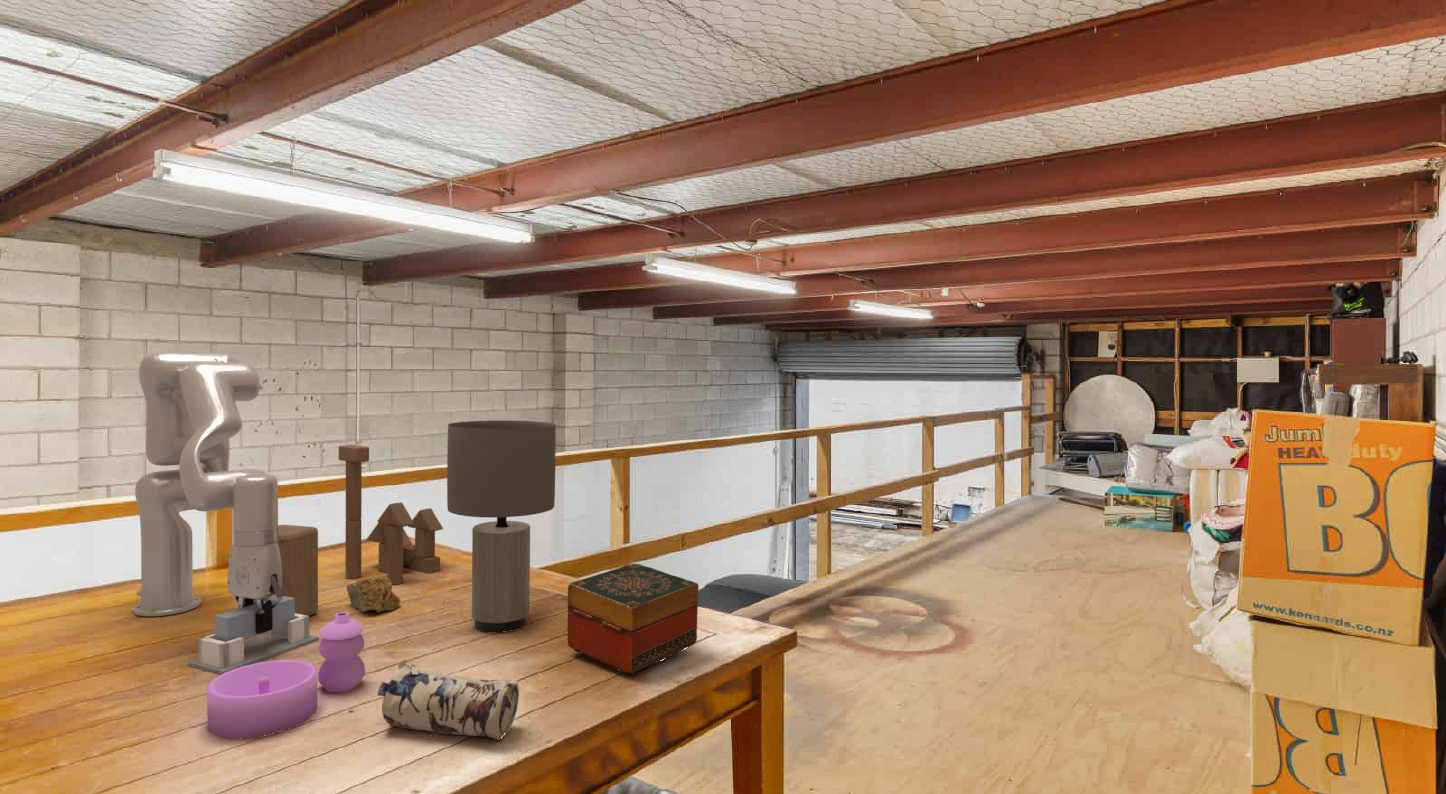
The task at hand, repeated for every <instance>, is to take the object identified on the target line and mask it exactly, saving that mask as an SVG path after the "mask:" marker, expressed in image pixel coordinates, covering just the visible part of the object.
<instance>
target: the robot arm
mask: <svg viewBox="0 0 1446 794" xmlns="http://www.w3.org/2000/svg"><path fill="white" fill-rule="evenodd" d="M138 380H139V383H140V386H141V390H142V393H143V396H144V398H145V403H146V422H145V423H146V425H145V455H146V459H147V460H148V462H149V463H150V464H152V465H154V466H161V467H164V466H165V467H166V466H168V467H169V466H179V467H178V469H168V470H161V471H155V472H150V473H147V474H145V475H143V476H141V478H139V479H138V480H137V482H136V484H135V488H134V495H135V500H136V504H137V509H138V513H139V514H138V515H139V524H140V552H141V554H140V568H141V570H140V572H141V573H140V575H141V578H140V579H141V582H140V583H141V589H139V590H137V591H136V593H135V594H136V596H138V597H140V602H138V603H137V604H135V605H134V606H132V607H133V608H132V613H133V614H134V615H136V616H140V617H163V616H170V615H175V614H180V613H184V612H189V611H191V610H194V609H196V608H198V607H199V606H200V605H201V604H202V598H201V597H199V596H196V595H193V593H194V590H193V588H194V586H193V583H194V582H193V581H194V579H193V578H194V577H193V575H194V574H193V572H194V571H193V564H194V563H193V561H194V560H193V554H194V553H193V530H192V527H191V525H190V523H188V521H186V520H185V519H184V518H183V517H182V516H181V514H180V513H181V512H185V511H192V510H196V511H198V512H213V511H214V512H215V511H220V510H228V509H232V519H233V520H232V524H233V525H232V530H233V531H232V533H233V537H232V541H233V544H232V545H231V547H230V552H229V555H228V557H229V558H228V564H227V565H228V566H227V578H226V579H227V585H226V587H227V589H226V590H227V592H228V593H229V594H230V595H231V596H234V598H235V600H236V601H237V609H240V608H243V607H247V606H250V605H254V604H255V601H256V600H257V609H258V613H257V614H255V623H256V634H259V635H262V634H264V632H265V633H268V632H267V631H270V630H272V628H273V610H274V609H275V606H276V604H277V603H279V602H280V601H282V600H283V596H282V593H281V590H282V566H281V557H280V550H279V546H278V526H279V483H278V479H277V477H276V476H275V475H273V474H269V473H265V472H264V471H263V470H260V469H258V468H248V469H247V468H245V469H237V470H236V469H235V470H234V469H233V470H229V468H230V467H229V466H230V439H231V438H233V437H235V436H236V435H237V434H238V433H239V432H240V431H241V429H242V427H243V420H242V418H241V416H240V412H239V409H238V407H237V403H236V402H249V401H253V400H254V399H256V398H257V396H258V395H259V393H260V388H261V381H260V378H259V375H258V373H257V371H256V369H255V368H254V367H253V366H252V365H251V364H250V363H248V362H247V361H245V360H243V359H241V358H239V357H237V356H235V355H233V354H230V353H225V352H201V351H200V352H194V351H160V352H159V351H158V352H152V353H149V354H147V355H146V356H144V357H143V358H142V359H141V361H140V364H139V367H138ZM267 594H268V595H267ZM265 599H267V600H268V601H266V602H265V603H264V602H263V600H265ZM261 633H262V634H261Z"/></svg>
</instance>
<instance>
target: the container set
mask: <svg viewBox="0 0 1446 794" xmlns="http://www.w3.org/2000/svg"><path fill="white" fill-rule="evenodd" d="M349 615H350V612H349V611H342V612H341V611H340V612H337V613H335V614H334V618H335V619H334V620H331V621H330V622H328V623H326V624H325V625H324V626H323V627H322V628H321V630H320V636H321V638H322V639H321V640H320V642H319V645H318V652H319V654H320V655H321V657H322V658H323V659H325V660H324V662H323V663H322V664H321V665H320V666H319V667H320V668H319V669H318V668H317V666H316V665H314V663H311V662H308V661H304V660H298V659H297V660H295V659H279V660H269V661H268V660H267V661H263V662H262V661H260V662H257V663H254V664H251V665H247V666H243V667H240V668H236V669H233V670H231V671H228V672H226V673H224V674H219V675H218V676H216V677H215V678H213V679H212V680H211V681H210V682H209V683H208V684H207V687H206V693H207V694H206V697H207V699H206V700H207V701H206V703H207V704H206V705H207V707H206V708H207V709H206V711H207V713H206V714H207V715H206V716H207V718H206V719H207V721H206V722H207V731H208V732H209V733H210V734H211V735H212V736H215V737H218V738H222V739H228V738H229V739H230V740H245V739H254V738H256V739H257V738H260V737H259V736H262V737H265V736H264V735H267V736H270V735H269V734H271V735H273V734H272V733H275V734H278V733H277V732H279V731H282V730H285V731H287V730H286V729H288V728H290V729H292V728H291V727H293V726H295V727H297V726H296V725H298V724H299V725H301V724H303V723H305V722H306V721H308V720H310V719H311V718H312V717H313V716H314V715H315V714H316V712H317V711H316V710H318V682H319V684H320V685H321V687H323V689H325V690H326V692H329V693H344V692H349V691H351V690H353V689H355V688H356V687H357V686H358V685H359V684H360V683H361V681H363V678H365V677H364V676H365V673H366V667H365V666H366V665H365V663H364V661H363V659H362V658H361V657H360V656H359V655H360V654H361V653H362V651H363V650H364V646H365V645H366V644H365V638H364V636H363V635H362V632H363V629H364V626H363V623H362V622H360V621H358V620H356V619H354V618H349V617H350V616H349ZM313 714H314V715H313ZM312 715H313V716H312ZM311 716H312V717H311ZM310 717H311V718H310ZM300 723H301V724H300ZM299 725H298V726H299ZM293 728H294V727H293ZM288 730H289V729H288ZM282 732H283V731H282ZM279 733H280V732H279ZM240 738H241V739H240ZM229 739H228V740H229Z"/></svg>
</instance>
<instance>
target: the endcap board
mask: <svg viewBox="0 0 1446 794" xmlns="http://www.w3.org/2000/svg"><path fill="white" fill-rule="evenodd" d="M319 640H320V636H317V635H311V634H310V616H306V615H301V614H296V613H295V619H294V620H291V621H288V625H286V626H283V627H280V628H277V629H274V630H271V631H268V632H267V635H264V636H261V637H259V638H258V637H257V638H255V639H252V640H249V641H247V642H245V639H244V638H242V637H239V638H236V639H233V640H230V641H227V642H224V641H220V640H216V639H215V633H213V634H210V635H206V636H202V637H199V638H197V656H198V657H197V658H195V659H193V660H190V661H188V662H187V666H188V667H192V668H196V669H200V670H203V671H208V672H210V673H214V674H218V675H222V674H224V673H226V672H228V671H231V670H233V669H236V668H240V667H243V666H247V665H251V664H255V663H261V662H262V661H265V660H267V659H271V658H274V657H275V656H279V655H282V654H284V653H286V652H290V651H292V650H294V649H295V650H296V649H298V648H300V647H304V646H306V645H308V644H311V643H314V642H317V641H319Z"/></svg>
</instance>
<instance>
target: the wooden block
mask: <svg viewBox="0 0 1446 794" xmlns="http://www.w3.org/2000/svg"><path fill="white" fill-rule="evenodd" d="M278 546H279V550H280V557H281V566H282V590H281V593H282V596H286V597H291V598H295V613H296V614H301V615H306V616H309V617H310V616H313V615H314V614H317V613H318V610H319V530H318V527H315V526H307V525H306V526H305V525H293V524H291V525H290V524H280V525H279V524H278ZM267 595H268V594H267ZM264 601H267V599H265V600H263V602H264ZM255 604H257V600H256V601H255Z"/></svg>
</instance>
